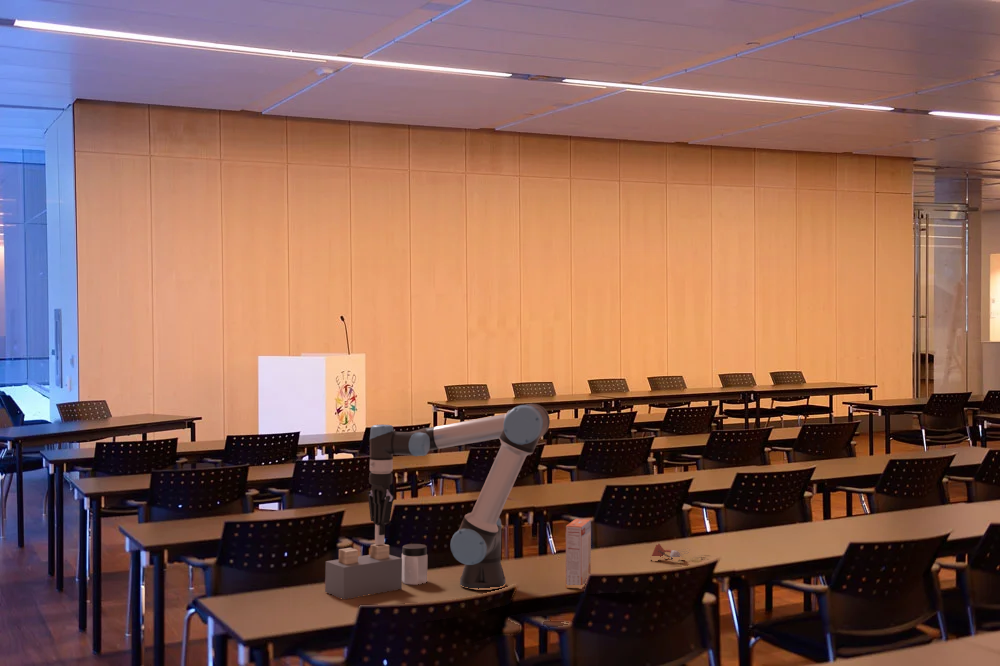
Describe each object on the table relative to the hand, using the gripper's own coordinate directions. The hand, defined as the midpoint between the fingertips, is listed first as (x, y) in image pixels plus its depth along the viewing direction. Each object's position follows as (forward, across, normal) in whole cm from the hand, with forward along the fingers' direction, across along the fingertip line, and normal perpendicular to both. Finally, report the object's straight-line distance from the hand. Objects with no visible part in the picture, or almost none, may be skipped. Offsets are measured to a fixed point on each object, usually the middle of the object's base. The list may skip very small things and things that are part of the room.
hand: (379, 544), depth 331 cm
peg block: (+14, 0, -6) cm, 15 cm away
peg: (+8, 0, 0) cm, 8 cm away
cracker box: (+14, +36, +56) cm, 68 cm away
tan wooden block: (+8, 0, -12) cm, 15 cm away
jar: (+14, 0, +14) cm, 20 cm away
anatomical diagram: (+15, +34, +115) cm, 121 cm away
